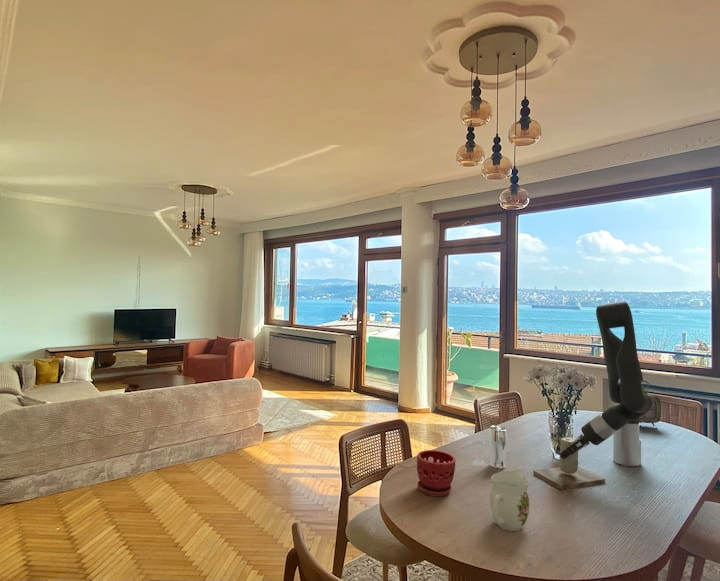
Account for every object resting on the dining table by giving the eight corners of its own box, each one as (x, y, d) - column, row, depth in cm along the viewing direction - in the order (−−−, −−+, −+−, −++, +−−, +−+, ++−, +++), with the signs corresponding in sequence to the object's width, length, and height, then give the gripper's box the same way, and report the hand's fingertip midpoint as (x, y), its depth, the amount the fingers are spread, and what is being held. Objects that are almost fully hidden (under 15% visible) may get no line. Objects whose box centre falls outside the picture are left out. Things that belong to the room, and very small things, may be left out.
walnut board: (574, 468, 169) (574, 464, 169) (605, 483, 156) (605, 479, 156) (533, 474, 163) (533, 470, 163) (561, 489, 150) (561, 485, 150)
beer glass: (508, 470, 167) (508, 431, 167) (489, 468, 168) (490, 430, 169) (505, 463, 174) (506, 426, 174) (487, 461, 175) (488, 425, 175)
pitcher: (475, 530, 122) (476, 482, 122) (503, 509, 135) (503, 465, 135) (513, 546, 114) (513, 494, 115) (538, 521, 128) (538, 475, 128)
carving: (564, 475, 156) (564, 442, 156) (555, 467, 164) (555, 435, 164) (582, 475, 156) (582, 442, 156) (572, 467, 163) (572, 436, 164)
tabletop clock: (631, 428, 226) (631, 381, 227) (623, 423, 235) (623, 378, 236) (661, 430, 224) (661, 382, 224) (652, 425, 233) (652, 379, 233)
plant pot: (431, 502, 139) (432, 465, 139) (409, 486, 150) (409, 452, 151) (463, 494, 145) (463, 459, 145) (438, 480, 156) (439, 447, 157)
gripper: (595, 416, 161) (562, 441, 168) (585, 424, 150) (550, 450, 157) (612, 433, 157) (577, 458, 164) (602, 443, 146) (566, 468, 154)
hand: (564, 454), depth 161 cm, fingers closed on carving, 7 cm apart
